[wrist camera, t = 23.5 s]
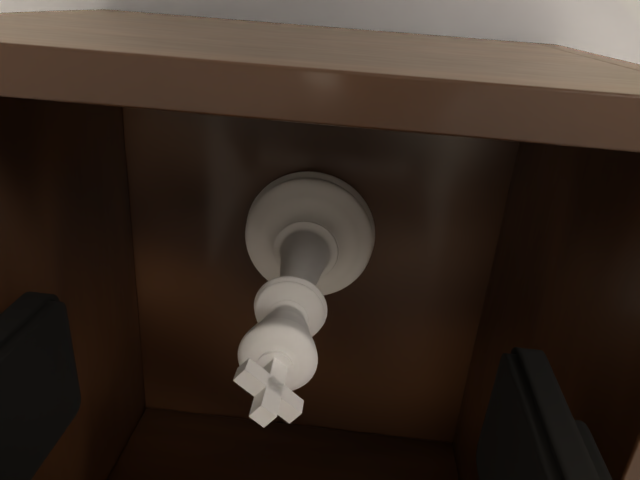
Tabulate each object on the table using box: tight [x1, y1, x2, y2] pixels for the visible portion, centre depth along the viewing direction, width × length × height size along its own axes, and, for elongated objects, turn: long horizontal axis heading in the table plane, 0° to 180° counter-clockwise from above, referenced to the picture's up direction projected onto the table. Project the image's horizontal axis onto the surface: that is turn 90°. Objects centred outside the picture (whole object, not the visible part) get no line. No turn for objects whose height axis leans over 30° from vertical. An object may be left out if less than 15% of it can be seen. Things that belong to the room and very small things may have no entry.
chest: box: [0, 9, 640, 480], centre depth 17 cm, size 18×16×12 cm
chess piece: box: [233, 171, 375, 428], centre depth 16 cm, size 5×5×10 cm
